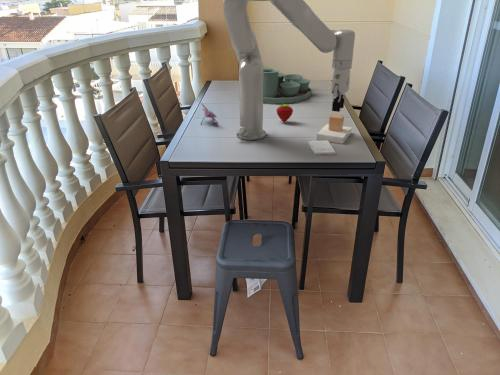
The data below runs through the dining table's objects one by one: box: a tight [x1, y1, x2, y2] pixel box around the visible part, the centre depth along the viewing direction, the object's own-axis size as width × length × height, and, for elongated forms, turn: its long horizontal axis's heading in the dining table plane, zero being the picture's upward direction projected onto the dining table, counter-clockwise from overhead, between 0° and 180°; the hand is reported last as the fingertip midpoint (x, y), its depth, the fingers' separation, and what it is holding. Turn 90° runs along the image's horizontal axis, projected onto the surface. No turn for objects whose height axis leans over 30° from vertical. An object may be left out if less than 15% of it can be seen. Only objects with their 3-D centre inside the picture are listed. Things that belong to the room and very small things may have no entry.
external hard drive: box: [307, 140, 337, 156], centre depth 158 cm, size 2×8×12 cm
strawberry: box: [276, 103, 294, 123], centre depth 184 cm, size 6×8×10 cm
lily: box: [198, 100, 219, 125], centre depth 185 cm, size 12×12×10 cm
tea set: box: [263, 65, 313, 105], centre depth 227 cm, size 40×40×16 cm
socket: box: [315, 123, 353, 145], centre depth 169 cm, size 14×11×2 cm
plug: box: [328, 114, 345, 131], centre depth 169 cm, size 4×5×8 cm
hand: (337, 108), depth 166 cm, fingers open, 4 cm apart
